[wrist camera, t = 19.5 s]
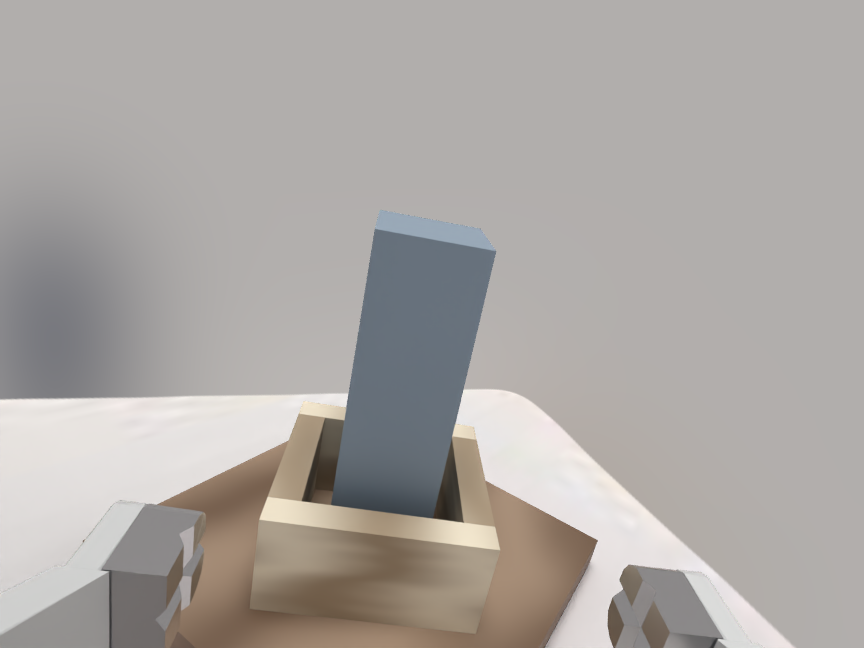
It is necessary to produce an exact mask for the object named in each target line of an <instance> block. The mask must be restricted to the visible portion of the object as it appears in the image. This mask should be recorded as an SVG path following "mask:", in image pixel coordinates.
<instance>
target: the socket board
mask: <svg viewBox="0 0 864 648" xmlns="http://www.w3.org/2000/svg"><path fill="white" fill-rule="evenodd" d="M345 413H346V407H339V406H332V405H326V404H319V403H312V402H306V401H303V404H302V407H301V409H300V412H299V415H298V417H297V420H296V423H295V425H294V428H293V431H292V433H291V436H290V439H289V441H287V442H285V443H283V444H281V445H279V446H277V447H275V448H273V449H270V450H268V451H266V452H264V453H262V454H260V455H258V456H256V457H254V458H252V459H250V460H248V461H246V462H244V463H242V464H240V465H238V466H236V467H233V468H231V469H229V470H227V471H225V472H223V473H221V474H219V475H217V476H215V477H213V478H211V479H209V480H207V481H205V482H203V483H201V484H198V485H196V486H194V487H192V488H190V489H188V490H186V491H184V492H182V493H180V494H178V495H176V496H174V497H172V498H170V499H168V500H166V501H164V502H161V503H159V504H157V505H161V506H168V507H174V508H181V509H188V510H195V511H201V512H204V513H205V514H206V530H205V532H204V534H203V536H202V538H201V540H200V542H199V543H200V544H201V546H202V547H203V548H204V559H203V565H202V571H201V575H200V579H199V582H198V585H197V588H196V591H195V594H194V596H193V598H192V601H191V603H190V605H189V606H187V607H186V608H184V609H183V610H181V616H180V627H179V630H178V632H177V634H176V636H175V638H174V641H173V643H172V645H171V647H170V648H544V647H545V645H546V643H547V642H548V640H549V638H550V636H551V634H552V632H553V630H554V629H555V627H556V625H557V623H558V621H559V619H560V617H561V615H562V614H563V612H564V610H565V608H566V606H567V604H568V602H569V601H570V599H571V597H572V595H573V593H574V591H575V589H576V587H577V586H578V584H579V582H580V580H581V578H582V576H583V574H584V572H585V571H586V569H587V567H588V565H589V563H590V560H591V557H592V555H593V552H594V549H595V546H596V544H597V541H598V540H596V539H594V538H592V537H590V536H588V535H586V534H585V533H583V532H581V531H579V530H577V529H575V528H573V527H571V526H570V525H568V524H566V523H564V522H562V521H560V520H558V519H556V518H554V517H553V516H551V515H549V514H547V513H545V512H543V511H541V510H539V509H538V508H536V507H534V506H532V505H530V504H528V503H526V502H524V501H522V500H521V499H519V498H517V497H515V496H513V495H511V494H509V493H507V492H506V491H504V490H502V489H500V488H498V487H496V486H494V485H492V484H490V483H489V482H487V481H485V477H484V473H483V468H482V463H481V459H480V454H479V449H478V445H477V440H476V435H475V431H474V427H472V426H465V425H459V424H455V427H454V431H453V435H452V440H451V444H450V448H449V452H448V457H447V461H446V465H445V469H444V473H443V478H442V482H441V486H440V490H439V495H438V499H437V503H436V507H435V511H434V516H433V519H432V518H424V517H416V516H409V515H401V514H394V513H386V512H379V511H371V510H363V509H356V508H348V507H341V506H333V505H331V501H332V495H333V488H334V482H335V476H336V470H337V463H338V457H339V451H340V445H341V438H342V432H343V426H344V420H345ZM85 540H86V539H85ZM85 540H83V542H84V541H85Z"/></svg>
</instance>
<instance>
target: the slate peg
mask: <svg viewBox="0 0 864 648" xmlns="http://www.w3.org/2000/svg"><path fill="white" fill-rule="evenodd" d="M495 254H496V250H495V249H494V247H493V246H492V245H491V243H490V242H489V240H488V239H487V238H486V236H485V235H484V233H483V232H482V230H481V229H479V228H474V227H468V226H463V225H458V224H452V223H447V222H441V221H436V220H431V219H426V218H420V217H415V216H410V215H404V214H398V213H393V212H388V211H383V210H380V212H379V216H378V219H377V223H376V227H375V232H374V238H373V244H372V250H371V257H370V263H369V269H368V276H367V283H366V288H365V294H364V301H363V307H362V314H361V319H360V326H359V332H358V338H357V345H356V351H355V357H354V363H353V369H352V376H351V382H350V388H349V394H348V401H347V407H346V413H345V420H344V426H343V432H342V438H341V445H340V451H339V457H338V463H337V470H336V476H335V482H334V488H333V495H332V501H331V505H333V506H341V507H348V508H356V509H363V510H371V511H379V512H386V513H394V514H401V515H409V516H416V517H424V518H432V519H433V516H434V511H435V507H436V503H437V499H438V495H439V490H440V486H441V482H442V478H443V473H444V469H445V465H446V461H447V457H448V452H449V448H450V444H451V440H452V435H453V431H454V427H455V423H456V419H457V414H458V410H459V406H460V402H461V397H462V393H463V389H464V384H465V380H466V376H467V372H468V368H469V363H470V360H471V355H472V351H473V347H474V343H475V338H476V334H477V330H478V326H479V322H480V317H481V313H482V308H483V305H484V300H485V296H486V292H487V288H488V284H489V279H490V275H491V270H492V267H493V262H494V258H495Z"/></svg>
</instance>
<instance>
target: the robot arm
mask: <svg viewBox="0 0 864 648" xmlns="http://www.w3.org/2000/svg"><path fill="white" fill-rule="evenodd" d="M205 530H206V514H205V513H204V512H201V511H195V510H188V509H181V508H174V507H168V506H161V505H154V504H144V503H137V502H130V501H123V500H120V501H118V502H116V503H114V504H113V505H112V506H111V507H110V509H109V510H108V511H107V513H106V514H105V515H104V516H103V518H102V519H101V520H100V522H99V523H98V524H97V525H96V527H95V528H94V529H93V531H92V532H91V533H90V534H89V536H88V537H87V538H86V540H85V541H84V542H83V543H82V545H81V546H80V547H79V549H78V550H77V551H76V552H75V554H74V555H73V556H72V558H71V559H70V560H69V561H68V563H67V564H66V565H65V566H54V567H52V568H50V569H48V570H46V571H44V572H42V573H40V574H38V575H36V576H34V577H32V578H30V579H28V580H26V581H24V582H22V583H20V584H18V585H16V586H14V587H12V588H10V589H8V590H6V591H4V592H2V593H1V594H0V648H170V647H171V645H172V643H173V641H174V638H175V636H176V634H177V632H178V630H179V627H180V616H181V610H183V609H184V608H186V607H187V606H189V605H190V603H191V601H192V598H193V596H194V594H195V591H196V588H197V585H198V582H199V579H200V575H201V571H202V565H203V559H204V548H203V547H202V546H201V544H200V543H199V542H200V540H201V538H202V536H203V534H204V532H205ZM620 582H621V585H622V587H623V590H622V591H621V592H619V593H618V594H617V595H615V596H614V597H613V598H612V601H611V604H610V607H609V610H608V630H609V636H610V639H611V642H612V645H613V647H614V648H764V647H763V646H762V645H760V644H757V643H752V642H751V641H750V639H749V638H748V636H747V635H746V633H745V632H744V630H743V629H742V627H741V626H740V624H739V623H738V621H737V620H736V618H735V617H734V615H733V614H732V612H731V611H730V609H729V608H728V606H727V605H726V603H725V602H724V600H723V599H722V597H721V596H720V594H719V593H718V591H717V590H716V588H715V587H714V585H713V584H712V582H711V581H710V579H709V578H708V577H707V576H706V575H704V574H703V573H702V572H694V571H684V570H671V569H662V568H653V567H645V566H636V565H628V566H627V567H626V568H625V569H624V570H623V572H622V575H621V577H620Z"/></svg>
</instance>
